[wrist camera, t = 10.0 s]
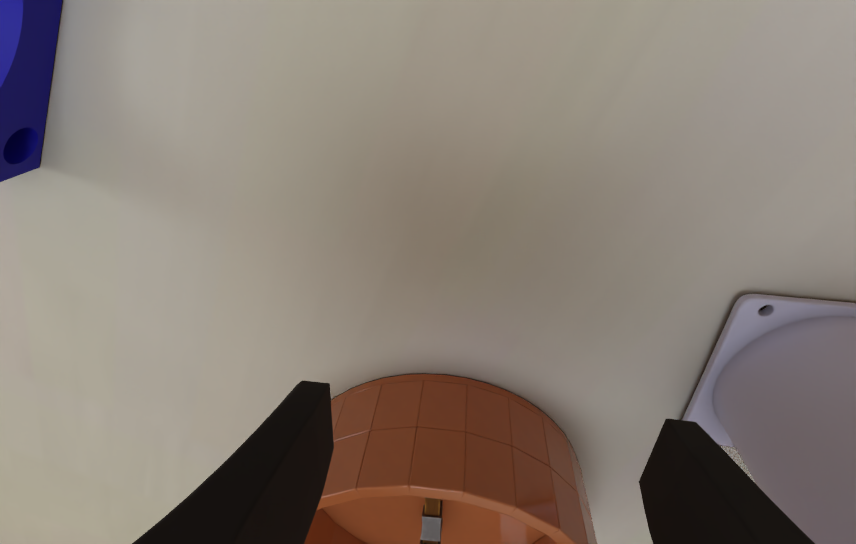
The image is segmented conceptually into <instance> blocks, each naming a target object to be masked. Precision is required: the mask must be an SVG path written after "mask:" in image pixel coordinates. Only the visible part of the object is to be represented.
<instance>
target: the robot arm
mask: <svg viewBox="0 0 856 544" xmlns="http://www.w3.org/2000/svg"><path fill="white" fill-rule="evenodd" d="M765 305H768V306H767V307H766V308H765V309H763V310H760V311H759V309H760V308H761V307H763V306H765ZM719 445H721V446H730V447H735V448H736V450H737V451H738V453H739V455H740V456H741V458H742V460H743V462H744V463H745V465H746V467H747V468H748V470H749V472H750V474H751V475H752V477H753V479H754V481H755V482H756V484H757V485H756V484H755V483H754V482H753V481H752V480H751V479H750V477H749V476H748V475H747V474H746V473H745V472H744V471H743V470H742V469H741V468H740V467H739V466H738V465H737V464H736V463H735V462H734V461H733V460H732V459H731V458H730V457H729V455H728V454H727V453H726V452H725V451H724V450H723V449H722V448H721V447H720V446H719ZM333 450H334V440H333V426H332V412H331V398H330V383H320V382H310V381H301V382H300V383H298V384H297V385H296V387H295V388H294V389H293V390H292V391H291V392H290V393H289V395H288V396H287V397H286V398H285V399H284V400H283V401H282V402H281V404H280V405H279V406H278V407H277V408H276V409H275V410H274V411H273V412H272V414H271V415H270V416H269V417H268V418H267V419H266V420H265V421H264V422H263V423H262V424H261V425H260V427H259V428H258V429H257V430H256V431H255V432H254V433H253V434H252V435H251V436H250V437H249V438H248V439H247V440H246V441H245V442H244V443H243V444H242V445H241V446H240V447H239V448H238V449H237V450H236V451H235V452H234V453H233V454H232V455H231V456H230V457H229V458H228V459H227V460H226V461H225V462H224V463H223V464H222V465H221V466H220V467H219V468H218V469H217V470H216V471H215V472H214V473H213V474H212V475H211V476H209V477H208V478H207V479H206V480H205V481H204V482H203V483H202V484H201V485H200V486H199V487H198V488H197V489H196V490H195V491H193V492H192V493H191V494H190V495H189V496H188V497H187V498H186V499H185V500H184V501H182V502H181V503H180V504H179V505H178V506H177V507H176V508H174V509H173V510H172V511H171V512H170V513H169V514H168V515H166V516H165V517H164V518H163V519H162V520H160V521H159V522H158V523H157V524H156V525H154V526H153V527H152V528H151V529H150V530H148V531H147V532H146V533H145V534H143V535H142V536H141V537H140V538H139V539H137V540H136V541H135V542H134V543H132V544H304V543H305V540H306V537H307V535H308V532H309V529H310V526H311V524H312V521H313V518H314V515H315V513H316V510H317V507H318V504H319V502H320V499H321V496H322V493H323V489H324V486H325V482H326V478H327V474H328V470H329V466H330V462H331V458H332V454H333ZM639 484H640V489H641V494H642V499H643V504H644V509H645V514H646V518H647V522H648V527H649V531H650V534H651V537H652V541H653V544H856V303H849V302H838V301H827V300H816V299H805V298H794V297H783V296H772V295H762V294H747V295H744V296H742V297H740V298H739V299H738V300H737V301H736V303H735V305H734V307H733V309H732V311H731V313H730V316H729V318H728V320H727V322H726V324H725V327H724V329H723V331H722V333H721V335H720V338H719V340H718V342H717V344H716V346H715V349H714V351H713V353H712V355H711V357H710V360H709V362H708V364H707V366H706V368H705V371H704V373H703V375H702V377H701V379H700V382H699V384H698V386H697V388H696V390H695V393H694V395H693V397H692V399H691V401H690V404H689V406H688V408H687V410H686V412H685V415H684V417H683V419H682V420H674V419H666V420H665V422H664V424H663V427H662V429H661V431H660V434H659V436H658V438H657V441H656V443H655V445H654V448H653V450H652V452H651V455H650V457H649V459H648V462H647V464H646V466H645V469H644V471H643V474H642V476H641V478H640V481H639Z"/></svg>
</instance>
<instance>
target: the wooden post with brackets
mask: <svg viewBox="0 0 856 544" xmlns="http://www.w3.org/2000/svg"><path fill="white" fill-rule="evenodd" d="M440 500H441V499H434V498H425V505H423V511H422V530H421V537H420V544H441V531H442V522H443V518H442V509H443V506H442V503H443V501H440Z"/></svg>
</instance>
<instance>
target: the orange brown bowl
mask: <svg viewBox="0 0 856 544" xmlns="http://www.w3.org/2000/svg"><path fill="white" fill-rule="evenodd" d="M331 412H332V426H333V440H334V450H333V454H332V458H331V462H330V466H329V470H328V474H327V478H326V482H325V486H324V489H323V493H322V496H321V499H320V502H319V504H318V507H317V510H316V513H315V515H314V518H313V521H312V524H311V526H310V529H309V532H308V535H307V537H306V540H305V543H304V544H420V537H421V530H422V511H423V505H425V498H434V499H441V500H440V501H443V503H442V506H443V509H442V518H443V522H442V531H441V544H597V541H596V536H595V532H594V527H593V523H592V518H591V513H590V509H589V504H588V500H587V495H586V491H585V486H584V482H583V477H582V473H581V468H580V466H579V464H578V460H577V457H576V455H575V452H574V450H573V447H572V446H571V444H570V442H569V441H568V439H567V437H566V436H565V434H564V433H563V432H562V431H561V430H560V428H559V427H558V426H557V425H556V424H555V423H554V421H552V420H551V419H550V418H549V417H548V416H547V415H546V414H544V413H543V412H542V411H541V410H540V409H538V408H537V407H535V406H534V405H532V404H531V403H529V402H527V401H526V400H524V399H522V398H520V397H519V396H517V395H515V394H513V393H511V392H509V391H506V390H504V389H501V388H498V387H496V386H493V385H490V384H488V383H484V382H480V381H476V380H472V379H468V378H463V377H456V376H450V375H438V374H410V375H400V376H393V377H387V378H382V379H378V380H375V381H371V382H367V383H364V384H362V385H359V386H357V387H354V388H352V389H349V390H348V391H346V392H344V393H342V394H341V395H339V396H337V397H335V398H334V399H333V400H331Z"/></svg>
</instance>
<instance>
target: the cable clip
mask: <svg viewBox="0 0 856 544" xmlns="http://www.w3.org/2000/svg"><path fill="white" fill-rule="evenodd" d="M61 6H62V0H0V182H1V181H4V180H7V179H9V178H12V177H15V176H17V175H20V174H23V173H25V172H28V171H31V170H33V169H36V168H39V167H40V159H41V152H42V145H43V137H44V130H45V123H46V116H47V108H48V101H49V94H50V86H51V79H52V72H53V65H54V57H55V50H56V43H57V35H58V28H59V21H60V13H61Z"/></svg>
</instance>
